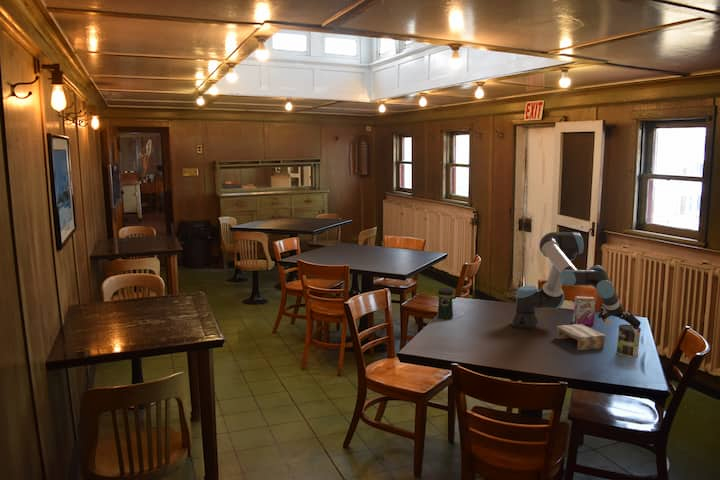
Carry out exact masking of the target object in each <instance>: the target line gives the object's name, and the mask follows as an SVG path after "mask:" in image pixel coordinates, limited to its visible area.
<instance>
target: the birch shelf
mask: <svg viewBox="0 0 720 480" xmlns="http://www.w3.org/2000/svg"><path fill="white" fill-rule="evenodd" d="M556 339H558V340H563V339H564V340H565V339H575V340H577V344H576V345H577V346H576V349H577V350H579V351H583V350H585V351H586V350H596V349H604V347H605V339H606V334H604V333H602V332H600V331H598V330H596V329H593V328H591V327H589V326H588V325H583V324H574V323H573V324H563V325H556Z"/></svg>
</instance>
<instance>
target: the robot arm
mask: <svg viewBox="0 0 720 480" xmlns="http://www.w3.org/2000/svg"><path fill="white" fill-rule="evenodd" d="M538 244H539V245H538V246H539V251H540V253H541V254H542V255H543V256H544V257H545V258H548V259H549V261H550V262H551V264H552V266H551V269H550V272H549V275H548V277H547V280H546V282H545V283H543V285H542V287H541V288H538V287H537V286H535V285H523V286H520V287H517V288H516V293H515V309H514V310H515V311H514V314H513V316H512V319H511V326H513V327H514V328H516V329H517V328H518V329H521V330H522V329H523V330H535V329H537V328H538V327H539V321H538V318H537V310H536V309H541V310H542V309H549V310H551V309H552V310H553V309H559V308H561V307H562V306H563V305H564V303H565V292H564V291H563V289H562V287H563V286H569V287H573V286H584V287H585V286H589V287H590V286H594V288H595V291H596V292H597V295H598V296H599V298H600V300H601V303H602V305H601V306H600V309H599V311H600V312H599V314H598V316H597V318H599V319H601V320H603V323H605V325H606V326H607V328H610V326H611V324H612V322H611V320H610V317H616V318H619V319H620V320H622V321H623V320H624V322H626V323H628V325H632V328H633V331H634V333H635V334H637V331H638V327H639V328H640V326H641V321H640V320H639V319H638V318H636V317H635V316H634V315H633V313H632V312H631V311H629V310H627V311H625V310H623V306H622V303H621V300H620V299H619V297H618V294H617V292H616V289H615V286H614V285H613V283H612V281H611V280H610V278H609V276H608V273H607V272H606V270H605V268H604V267H603V266H601V265H599V264H595V265H594V266H593V265H592V266H591V267H589V268H588V269H578V268H577V267H576V266H575V265H574V264H573V263H572V261H574V260H575V259H576V258H577V255H580V254H583V253H584V248H585V244H584V238H583V237H582V235H581V234H580V232H574V231H572V232H565V231H563V232H561V231H560V232H559V231H558V232H557V231H556V232H555V231H552V232H548V233H546V234H544V236H543V237H541V239H540V241H539V243H538ZM604 312H605V313H604Z"/></svg>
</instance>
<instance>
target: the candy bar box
mask: <svg viewBox="0 0 720 480" xmlns="http://www.w3.org/2000/svg"><path fill="white" fill-rule="evenodd" d="M596 303H597V298H596V297H593V296H580V295H577V296H576V295H575V296H574V304H573V305H574V307H573V316H572V322H573V323H572V324H573V325H574V324H583V325H585V326H594V323H595V314H596V313H595V312H596Z"/></svg>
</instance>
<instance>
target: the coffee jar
mask: <svg viewBox="0 0 720 480" xmlns="http://www.w3.org/2000/svg"><path fill="white" fill-rule="evenodd" d="M454 296H455V293H454V289H453V288H446V287H440V288H439V289H438V292H437V298H438V304H437V305H438V306H437V314H436V315H437V316H436V317H437V318H438V319H442V320H451V319H453V318H454V307H453V298H454Z"/></svg>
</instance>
